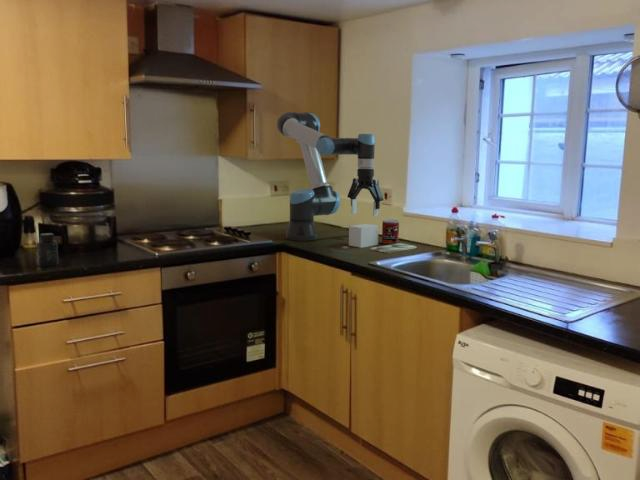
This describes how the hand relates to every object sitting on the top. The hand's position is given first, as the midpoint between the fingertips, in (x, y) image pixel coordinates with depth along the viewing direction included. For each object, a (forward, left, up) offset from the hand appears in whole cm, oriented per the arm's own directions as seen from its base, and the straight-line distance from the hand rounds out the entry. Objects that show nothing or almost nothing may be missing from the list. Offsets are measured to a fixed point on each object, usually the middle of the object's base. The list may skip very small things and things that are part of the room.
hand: (364, 214), depth 280 cm
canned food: (+5, +13, -14) cm, 20 cm away
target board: (+15, +4, -14) cm, 21 cm away
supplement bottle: (-44, -126, -14) cm, 134 cm away
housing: (0, 0, -14) cm, 14 cm away
